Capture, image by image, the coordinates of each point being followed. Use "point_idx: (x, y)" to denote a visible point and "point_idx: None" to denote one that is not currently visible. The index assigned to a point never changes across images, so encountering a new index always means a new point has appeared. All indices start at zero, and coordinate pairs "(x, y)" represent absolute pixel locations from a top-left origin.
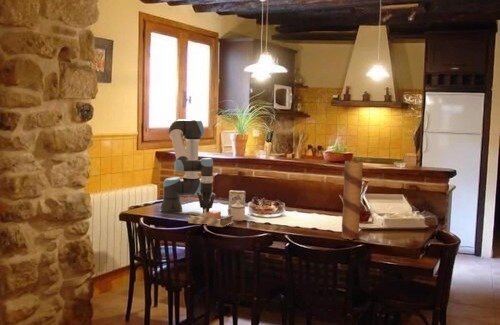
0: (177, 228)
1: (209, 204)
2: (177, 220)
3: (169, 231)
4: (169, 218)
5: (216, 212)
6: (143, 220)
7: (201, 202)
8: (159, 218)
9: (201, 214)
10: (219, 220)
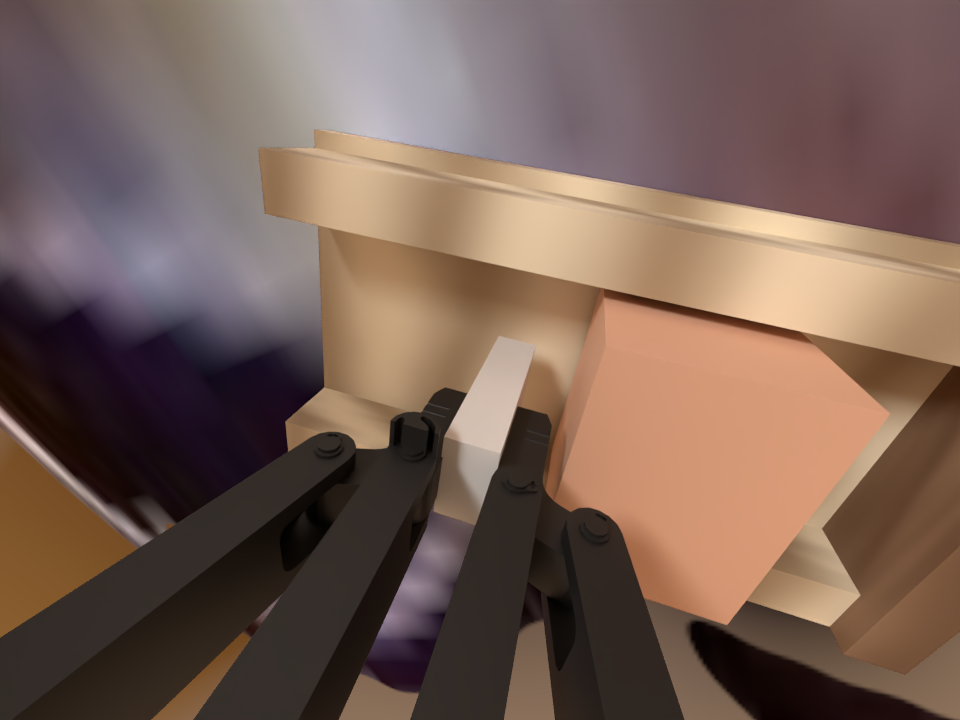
0: (388, 621)
1: (561, 695)
2: (184, 336)
3: (390, 686)
4: (53, 260)
5: (760, 554)
6: (13, 419)
7: (256, 602)
8: (3, 298)
9: (352, 230)
10: (807, 609)
